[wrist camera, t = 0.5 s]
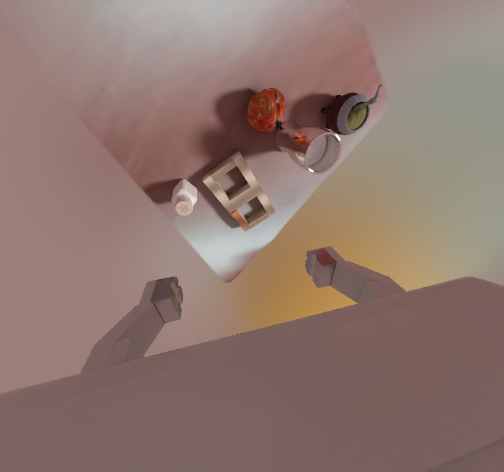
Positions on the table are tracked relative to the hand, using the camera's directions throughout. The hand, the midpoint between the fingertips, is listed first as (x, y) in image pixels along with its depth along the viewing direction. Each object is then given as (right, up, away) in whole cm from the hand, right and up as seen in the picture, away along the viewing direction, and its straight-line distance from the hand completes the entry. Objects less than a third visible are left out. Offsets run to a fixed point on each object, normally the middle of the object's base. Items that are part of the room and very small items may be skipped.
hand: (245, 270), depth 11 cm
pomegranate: (+2, +28, +26) cm, 38 cm away
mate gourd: (+18, +30, +29) cm, 46 cm away
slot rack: (-3, +13, +36) cm, 38 cm away
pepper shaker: (-15, +13, +32) cm, 38 cm away
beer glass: (+8, +25, +30) cm, 40 cm away
